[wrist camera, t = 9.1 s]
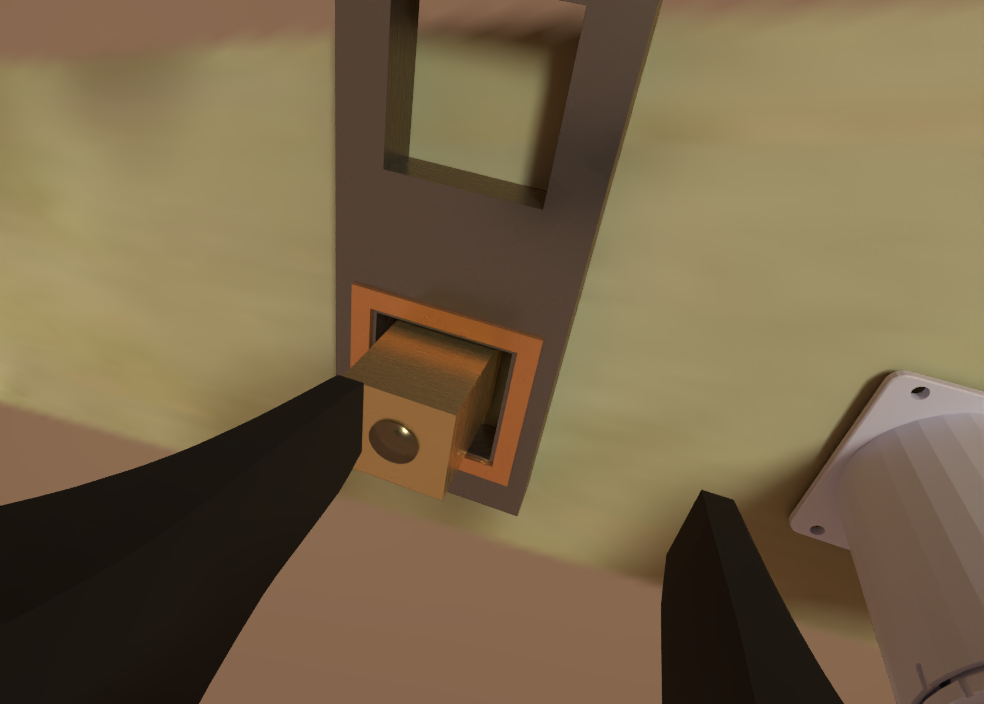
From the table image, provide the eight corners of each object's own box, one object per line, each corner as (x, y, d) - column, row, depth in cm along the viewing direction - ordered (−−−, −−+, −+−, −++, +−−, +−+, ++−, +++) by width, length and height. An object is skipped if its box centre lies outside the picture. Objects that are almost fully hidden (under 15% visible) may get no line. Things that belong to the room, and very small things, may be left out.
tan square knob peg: (507, 327, 22) (454, 417, 17) (492, 403, 24) (441, 502, 19) (416, 300, 23) (340, 378, 18) (409, 376, 25) (339, 465, 20)
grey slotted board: (692, -107, 14) (692, -125, 12) (527, 485, 26) (516, 519, 24) (372, -155, 16) (331, -177, 14) (357, 426, 28) (334, 454, 26)
